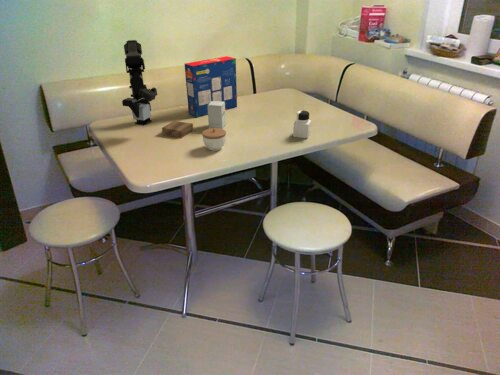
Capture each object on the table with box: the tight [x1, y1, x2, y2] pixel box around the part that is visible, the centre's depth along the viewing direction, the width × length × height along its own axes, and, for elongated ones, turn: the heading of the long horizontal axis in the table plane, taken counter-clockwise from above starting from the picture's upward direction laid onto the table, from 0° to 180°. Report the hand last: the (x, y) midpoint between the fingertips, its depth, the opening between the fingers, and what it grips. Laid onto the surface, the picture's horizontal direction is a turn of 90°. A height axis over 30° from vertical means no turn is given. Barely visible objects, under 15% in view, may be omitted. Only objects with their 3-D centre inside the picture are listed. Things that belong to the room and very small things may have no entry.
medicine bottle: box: [292, 110, 312, 139], centre depth 198 cm, size 7×7×12 cm
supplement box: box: [207, 101, 226, 130], centre depth 210 cm, size 7×7×13 cm
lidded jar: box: [201, 128, 227, 152], centre depth 187 cm, size 11×11×9 cm
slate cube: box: [131, 103, 152, 121], centre depth 197 cm, size 6×6×6 cm
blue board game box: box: [184, 55, 238, 119], centre depth 229 cm, size 28×8×28 cm, turn 129°
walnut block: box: [161, 120, 194, 139], centre depth 206 cm, size 11×11×4 cm
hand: (141, 115), depth 198 cm, fingers closed on slate cube, 6 cm apart
